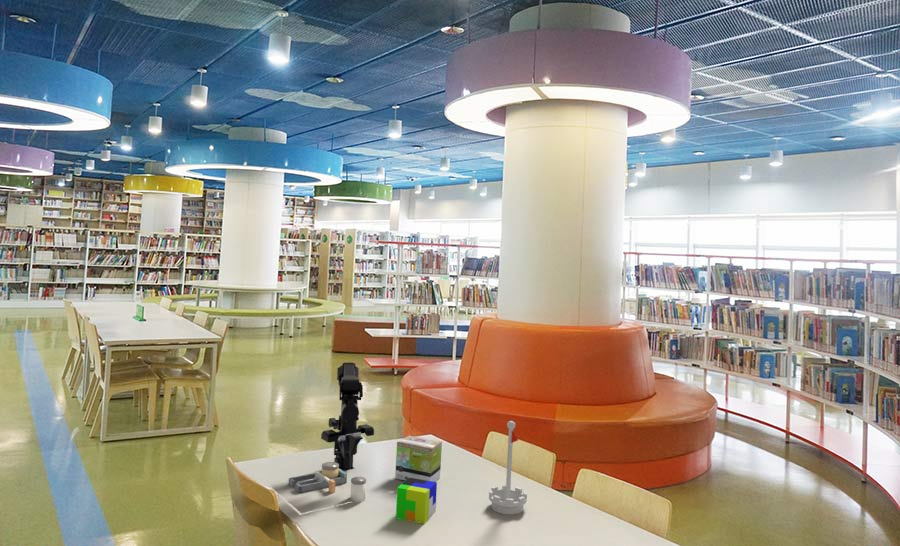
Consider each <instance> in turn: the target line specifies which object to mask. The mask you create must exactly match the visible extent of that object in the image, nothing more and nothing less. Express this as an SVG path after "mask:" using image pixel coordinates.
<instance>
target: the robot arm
mask: <svg viewBox="0 0 900 546" xmlns="http://www.w3.org/2000/svg"><path fill="white" fill-rule="evenodd" d="M359 369H360V368H359V367H358V366H357V365H356V363H355V362H349V361H348V362H345V361H344V362H342V364H341V365H340V366H339V367H337V371H336V381H338V383H337V384H338V385H337V386H339V387H338V388H339V395H338V396H339V397H338V398H339V399H338V400H339V401H341V408H340V415H339V416H338V419H336V417H330V418H328V427H329V428H333V429H327V430H323V431H322V432H321V435H320V436H321V437H320V439H321V440H323V441H325V442H326V443H334V444H333V456H335V457H334V458H333V459H334V460H333V462H335V463H338V464H339V469H341V470H342V471H344V472H345V471H350V470H355V469H356V468H355V467H354V455H356V454H358V447H359V443H360V441H362V440H363V439H364V437H363V436H362V434H364V435H365V436H367V437H371V436H374V435H375V429H374V427H373V426H371V425H369V424H367V423H366V424H365V423H364V424H361V425H358V426H357V423H358V421H359V420H360V419H359V415H360V410H359V407H358V404H359V403H358V401H362V398H363V396H364V388H363V386H364V385H363V383H362V382H361V381H360V377H359ZM336 430H338V431H336Z"/></svg>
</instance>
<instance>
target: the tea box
mask: <svg viewBox="0 0 900 546" xmlns="http://www.w3.org/2000/svg"><path fill="white" fill-rule="evenodd" d="M442 446H443V441H440V440H435V439H434V440H433V439H428V438H423V437H418V436H413V435H406V436H405V437H404V438H402V439H400V440H398V441H397V442H396V455H395V457H396V458H395V473H394V474H395V476H394V478H395V480H401V481H404V482H405V481H406V480H407V479H408V478H415V479H421V480H427V481H432V482H437V481H438V480H440V478H441V469H442V468H441V467H442V466H441V465H442V464H441V462H442V450H443V449H442Z"/></svg>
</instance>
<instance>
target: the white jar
mask: <svg viewBox="0 0 900 546" xmlns="http://www.w3.org/2000/svg"><path fill="white" fill-rule="evenodd" d="M366 483H367V478H366V477H365V476H355V477H351V478H350V499H351V502H353V503H363V502H365V500H366V488H367V487H366V486H367V484H366Z"/></svg>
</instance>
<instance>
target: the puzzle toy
mask: <svg viewBox="0 0 900 546" xmlns="http://www.w3.org/2000/svg"><path fill="white" fill-rule="evenodd" d="M437 487H438V482H437V481H436V482H432V481H427V480H421V479H415V478H408V479H407V480H406V481H405V480H404V481H403V482H402V483H401V484H399V486H397V487H396V508H395V510H396V511H395V518H396V519H399V520H403V521H409V522H413V523H418V524H424V525H425V524H426V523H427V522H428V521H429V520H430V519H431V517H432V516H433V515H434V514H435V513H436V509H437V507H436V506H437V491H438V490H437V489H438V488H437Z"/></svg>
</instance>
